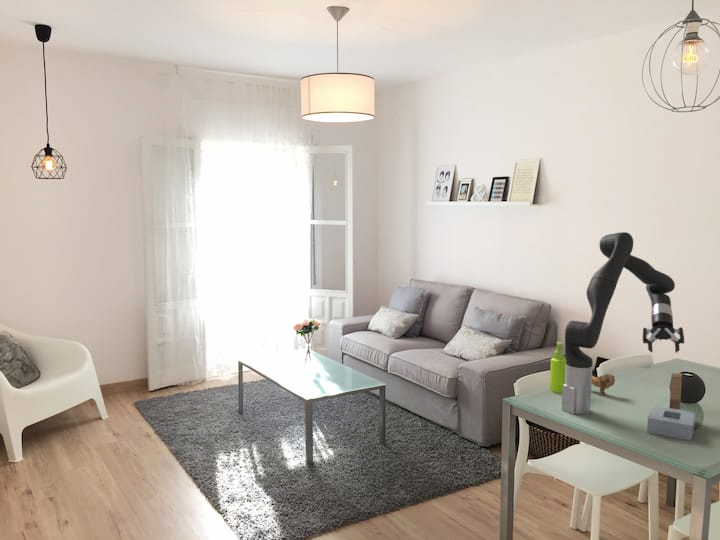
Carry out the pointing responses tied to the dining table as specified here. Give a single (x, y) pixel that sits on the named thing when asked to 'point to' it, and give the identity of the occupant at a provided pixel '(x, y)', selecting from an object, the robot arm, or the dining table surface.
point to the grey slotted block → (671, 422)
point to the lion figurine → (603, 382)
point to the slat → (675, 391)
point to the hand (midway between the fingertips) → (663, 351)
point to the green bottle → (557, 370)
